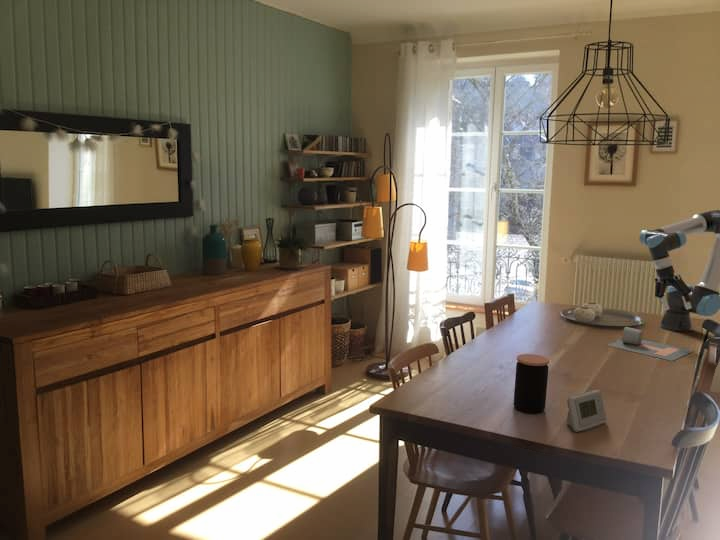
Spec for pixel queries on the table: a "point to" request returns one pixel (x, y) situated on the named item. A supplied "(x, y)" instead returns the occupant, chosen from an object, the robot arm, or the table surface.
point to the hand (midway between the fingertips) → (677, 309)
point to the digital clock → (586, 410)
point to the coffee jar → (531, 383)
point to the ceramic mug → (632, 336)
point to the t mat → (653, 349)
